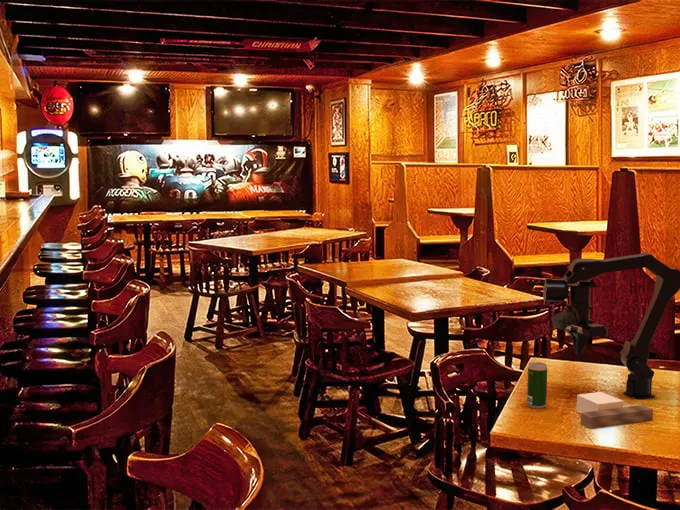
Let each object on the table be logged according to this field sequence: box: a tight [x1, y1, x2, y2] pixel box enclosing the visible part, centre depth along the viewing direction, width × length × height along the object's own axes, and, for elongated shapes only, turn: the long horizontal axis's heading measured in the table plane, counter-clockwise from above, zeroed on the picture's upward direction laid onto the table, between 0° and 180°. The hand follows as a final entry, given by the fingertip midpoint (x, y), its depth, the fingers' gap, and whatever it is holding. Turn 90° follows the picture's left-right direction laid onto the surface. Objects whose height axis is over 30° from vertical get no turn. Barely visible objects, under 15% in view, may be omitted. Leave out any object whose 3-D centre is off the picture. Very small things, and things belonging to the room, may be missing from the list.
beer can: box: [526, 361, 548, 410], centre depth 216 cm, size 5×5×12 cm
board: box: [580, 404, 654, 430], centre depth 203 cm, size 20×4×3 cm, turn 110°
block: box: [576, 391, 624, 414], centre depth 209 cm, size 8×9×5 cm
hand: (577, 354), depth 227 cm, fingers closed
